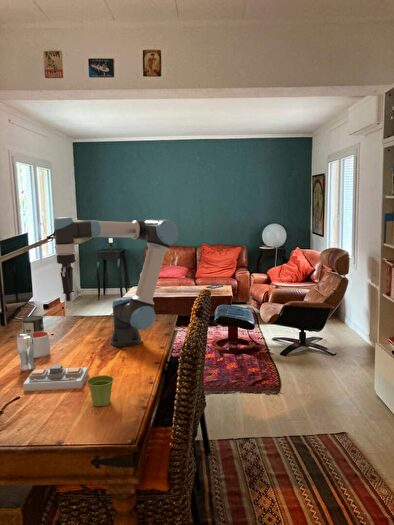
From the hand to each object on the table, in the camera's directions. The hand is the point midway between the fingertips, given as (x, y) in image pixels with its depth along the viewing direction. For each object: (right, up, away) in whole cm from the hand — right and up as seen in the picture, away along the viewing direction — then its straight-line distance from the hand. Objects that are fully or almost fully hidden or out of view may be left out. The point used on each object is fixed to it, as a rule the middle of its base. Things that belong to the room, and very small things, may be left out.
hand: (69, 307), depth 193 cm
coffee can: (-28, -23, +35) cm, 50 cm away
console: (-1, -29, -13) cm, 32 cm away
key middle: (-1, -24, -14) cm, 28 cm away
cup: (-20, -25, +20) cm, 37 cm away
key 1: (-8, -26, -14) cm, 30 cm away
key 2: (+6, -25, -13) cm, 29 cm away
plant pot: (+21, -31, -33) cm, 50 cm away
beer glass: (-19, -27, +3) cm, 33 cm away
